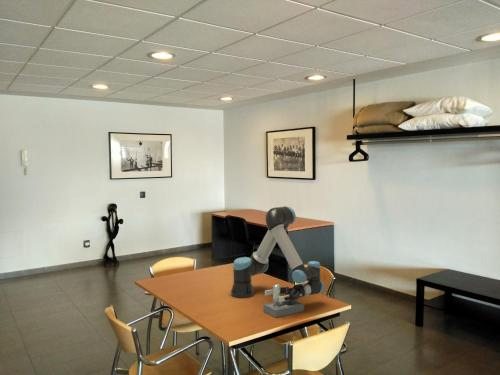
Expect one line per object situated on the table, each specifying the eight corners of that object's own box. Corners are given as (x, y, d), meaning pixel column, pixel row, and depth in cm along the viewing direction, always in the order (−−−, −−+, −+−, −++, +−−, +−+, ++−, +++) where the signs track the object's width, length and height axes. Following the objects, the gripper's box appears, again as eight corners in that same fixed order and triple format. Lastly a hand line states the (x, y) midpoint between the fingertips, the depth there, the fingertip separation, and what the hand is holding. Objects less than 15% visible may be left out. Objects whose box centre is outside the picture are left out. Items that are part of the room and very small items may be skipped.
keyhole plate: (291, 305, 239) (291, 298, 239) (304, 310, 229) (304, 304, 228) (263, 311, 228) (263, 304, 228) (275, 317, 218) (275, 310, 218)
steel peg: (272, 311, 228) (272, 283, 228) (281, 311, 228) (281, 283, 227) (271, 314, 223) (271, 285, 223) (280, 314, 223) (280, 286, 222)
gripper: (315, 302, 224) (285, 309, 213) (288, 291, 246) (259, 297, 234) (315, 289, 224) (285, 295, 213) (288, 279, 245) (259, 284, 234)
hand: (271, 296), depth 224 cm, fingers open, 13 cm apart
